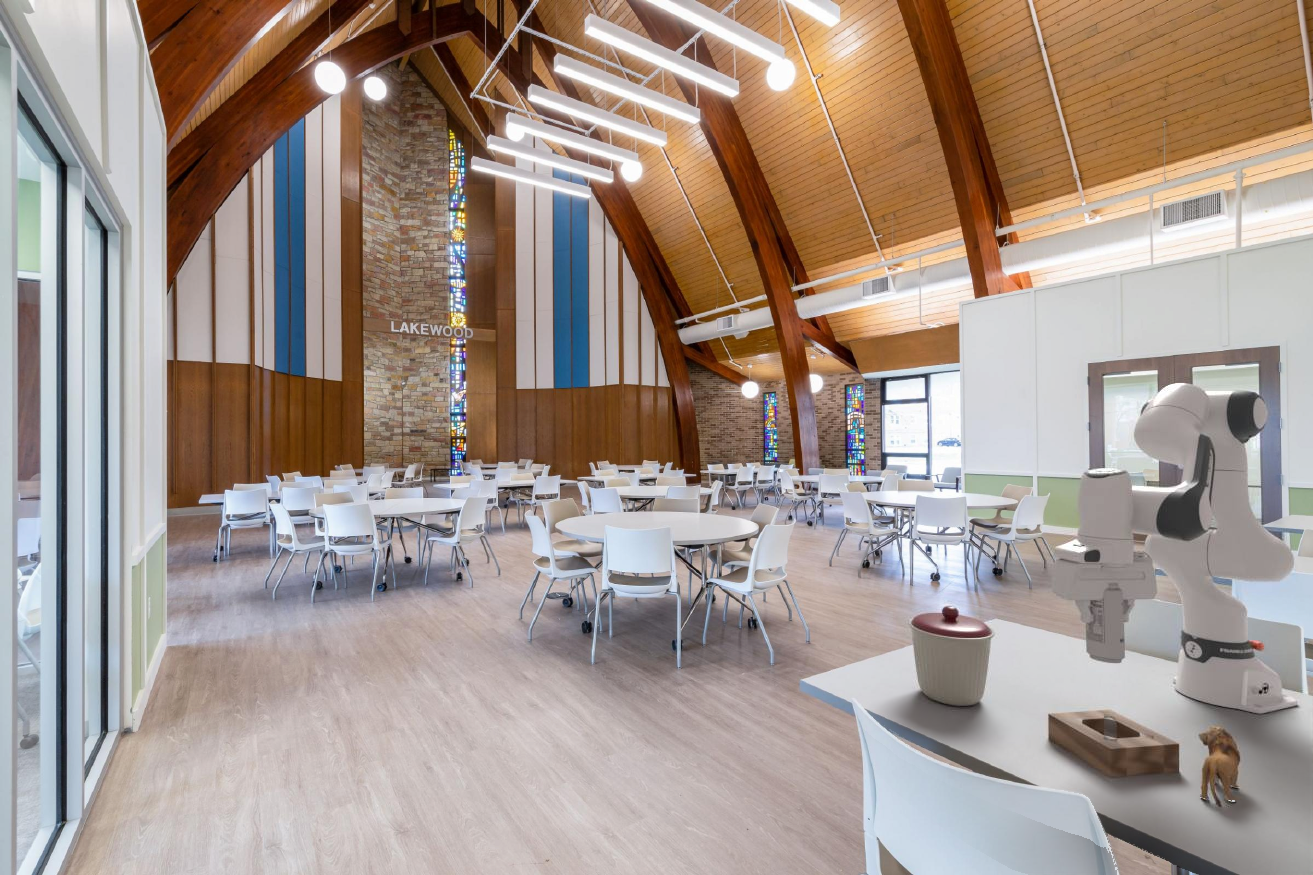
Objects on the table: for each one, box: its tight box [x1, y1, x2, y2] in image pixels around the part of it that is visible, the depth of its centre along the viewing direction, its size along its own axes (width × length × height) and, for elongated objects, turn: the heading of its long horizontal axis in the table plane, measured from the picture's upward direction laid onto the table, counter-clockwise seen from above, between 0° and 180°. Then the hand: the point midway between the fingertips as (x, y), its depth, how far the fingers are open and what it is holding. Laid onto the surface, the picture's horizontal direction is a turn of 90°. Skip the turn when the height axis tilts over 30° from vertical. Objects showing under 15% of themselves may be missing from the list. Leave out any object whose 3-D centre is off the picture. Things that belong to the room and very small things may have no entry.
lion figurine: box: [1197, 725, 1241, 808], centre depth 102 cm, size 15×5×9 cm, turn 138°
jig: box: [1047, 709, 1180, 778], centre depth 114 cm, size 14×14×5 cm
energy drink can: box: [1085, 583, 1126, 664], centre depth 117 cm, size 6×6×15 cm
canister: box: [907, 605, 996, 707], centre depth 140 cm, size 18×18×21 cm
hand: (1104, 621), depth 117 cm, fingers closed on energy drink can, 6 cm apart
